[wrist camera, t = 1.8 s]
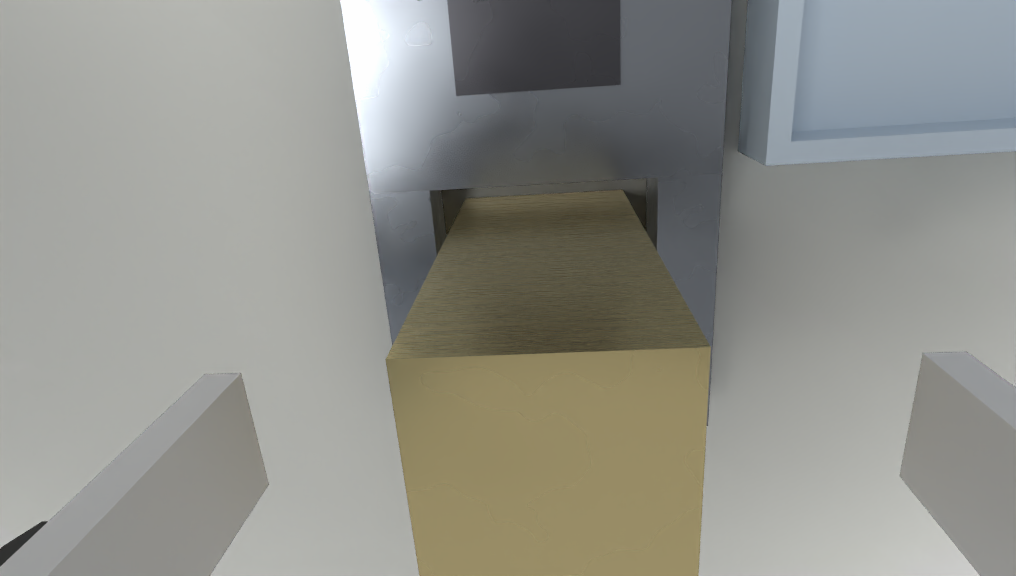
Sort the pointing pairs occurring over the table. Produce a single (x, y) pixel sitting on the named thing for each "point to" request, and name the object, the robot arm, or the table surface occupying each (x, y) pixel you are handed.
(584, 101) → the grey slotted plate
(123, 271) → the table surface
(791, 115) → the tray
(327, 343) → the table surface
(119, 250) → the table surface
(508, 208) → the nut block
